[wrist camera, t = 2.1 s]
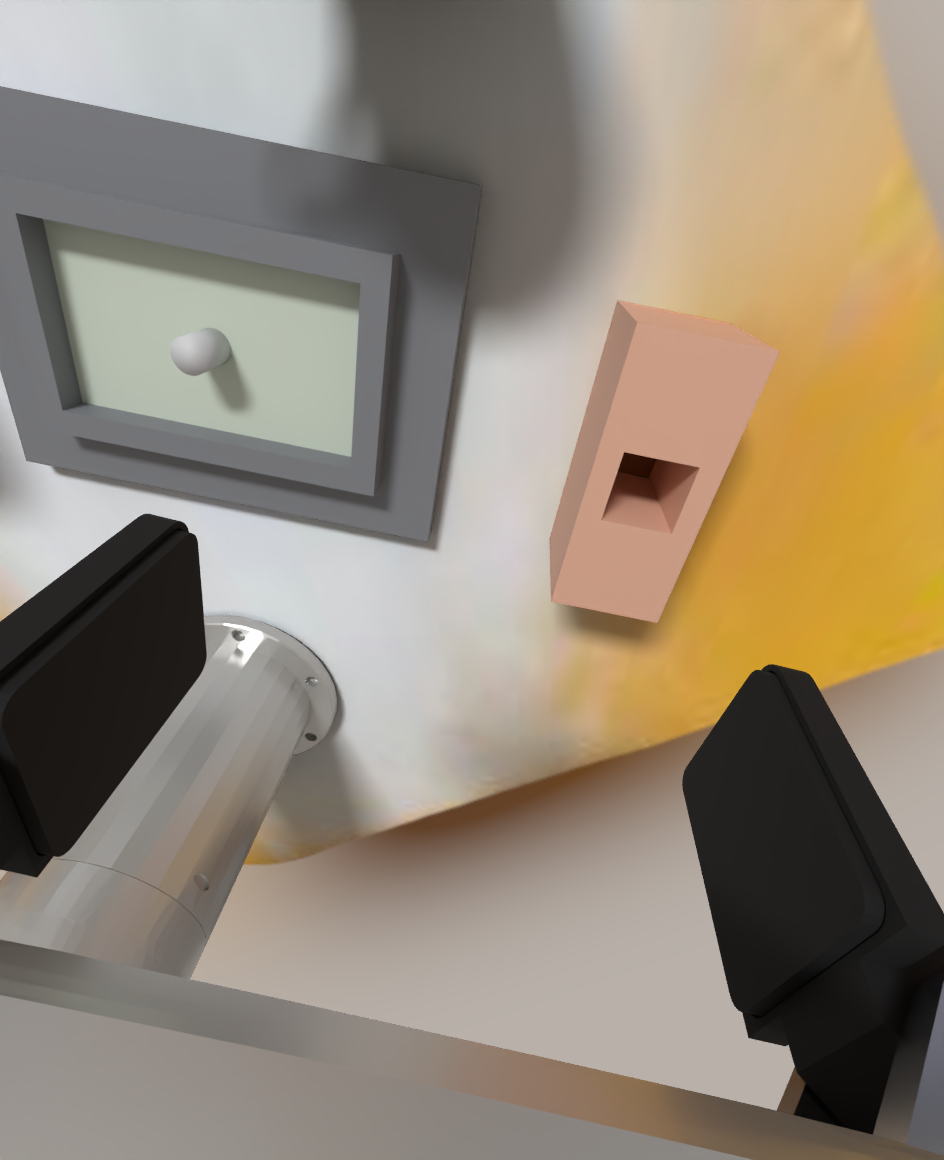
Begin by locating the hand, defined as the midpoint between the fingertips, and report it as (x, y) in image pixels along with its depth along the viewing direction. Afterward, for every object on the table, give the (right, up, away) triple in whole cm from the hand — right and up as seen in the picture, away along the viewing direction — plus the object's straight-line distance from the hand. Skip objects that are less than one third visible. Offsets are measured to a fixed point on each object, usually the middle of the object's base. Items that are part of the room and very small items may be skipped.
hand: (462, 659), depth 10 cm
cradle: (-12, +13, +17) cm, 24 cm away
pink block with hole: (+8, +8, +18) cm, 21 cm away
